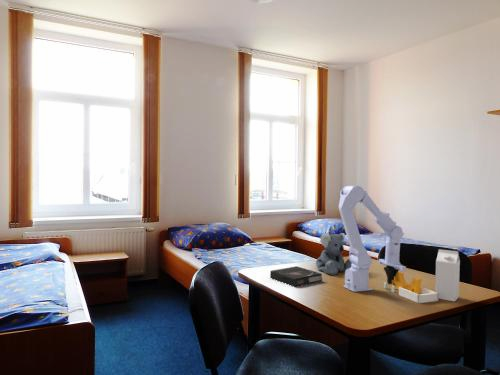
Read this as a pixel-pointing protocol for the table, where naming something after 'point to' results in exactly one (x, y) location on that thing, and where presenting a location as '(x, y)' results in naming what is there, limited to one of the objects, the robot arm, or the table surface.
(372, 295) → the table surface
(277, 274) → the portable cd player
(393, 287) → the clips
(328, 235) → the koala plush
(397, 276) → the pipe clamp
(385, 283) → the small blocks
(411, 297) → the end holder
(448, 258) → the milk carton
